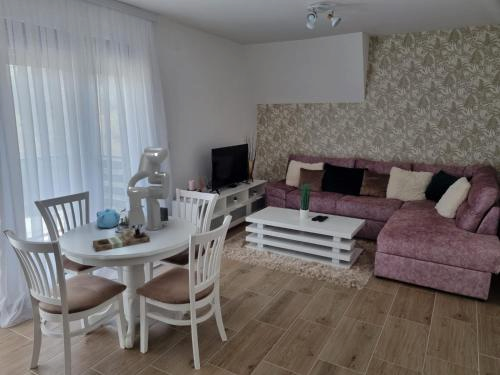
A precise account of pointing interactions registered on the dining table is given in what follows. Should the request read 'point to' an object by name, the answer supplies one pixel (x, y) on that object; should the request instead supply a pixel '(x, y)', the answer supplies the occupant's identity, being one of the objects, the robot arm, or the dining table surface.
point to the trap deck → (119, 242)
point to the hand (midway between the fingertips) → (137, 234)
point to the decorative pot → (107, 218)
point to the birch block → (128, 234)
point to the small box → (164, 214)
